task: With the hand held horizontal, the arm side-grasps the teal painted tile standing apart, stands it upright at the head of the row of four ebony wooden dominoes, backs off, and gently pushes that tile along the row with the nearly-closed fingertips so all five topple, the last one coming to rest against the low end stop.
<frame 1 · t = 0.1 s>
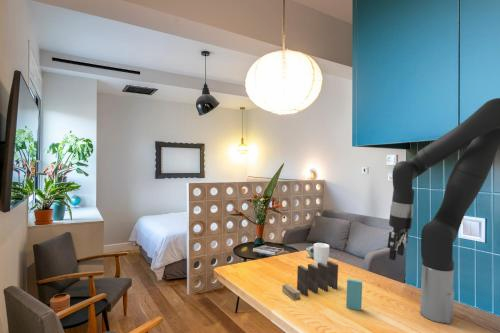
hand: (396, 257, 111), 17 cm above the table, tool pointing down, fingers open, 8 cm apart
domino 3: (312, 290, 120), on the table
white cup: (320, 264, 151), on the table
domino 4: (302, 292, 118), on the table
domino 2: (322, 288, 122), on the table
end stop: (291, 294, 116), on the table
robot head: (312, 258, 160), on the table
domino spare: (353, 308, 107), on the table
domino 1: (331, 286, 125), on the table
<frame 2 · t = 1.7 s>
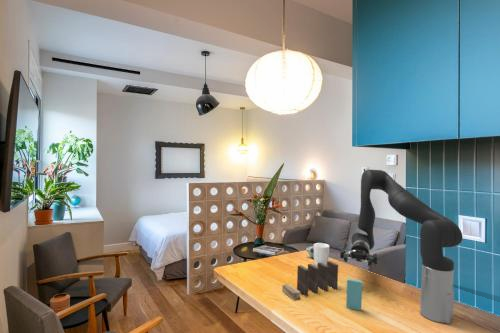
hand: (357, 261, 117), 13 cm above the table, tool horizontal, fingers open, 8 cm apart
nothing on the table moved.
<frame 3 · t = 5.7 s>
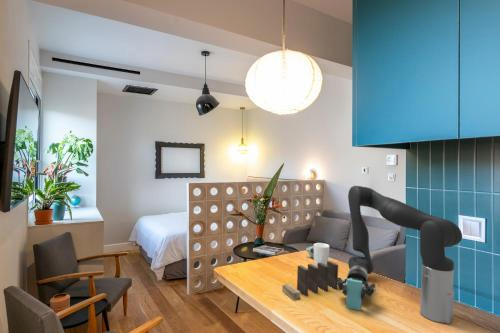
hand: (353, 294, 104), 6 cm above the table, tool horizontal, fingers closed on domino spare, 5 cm apart
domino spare: (353, 308, 107), on the table, touching gripper
everything else where it was.
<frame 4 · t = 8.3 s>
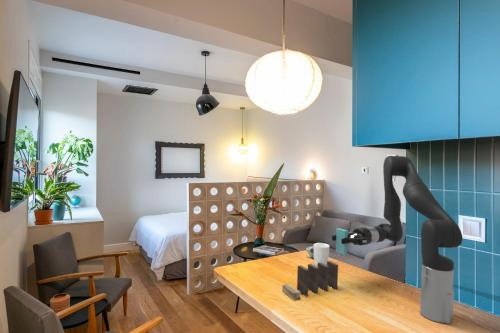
hand: (337, 239, 124), 20 cm above the table, tool horizontal, fingers closed on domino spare, 5 cm apart
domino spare: (341, 253, 125), point 14 cm above the table, touching gripper
everything else where it was.
when the fingers open (6 cm above the table, at t = 11.1 s): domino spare stays where it is, on the table.
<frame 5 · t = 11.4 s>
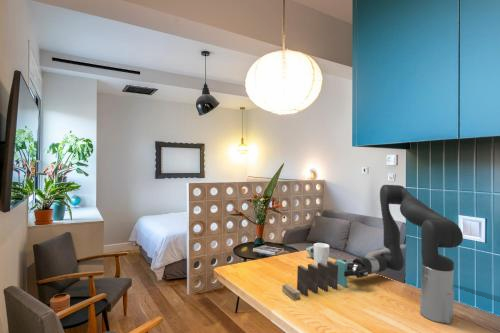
hand: (337, 270, 126), 6 cm above the table, tool horizontal, fingers open, 8 cm apart
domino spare: (340, 284, 127), on the table
everything else where it was.
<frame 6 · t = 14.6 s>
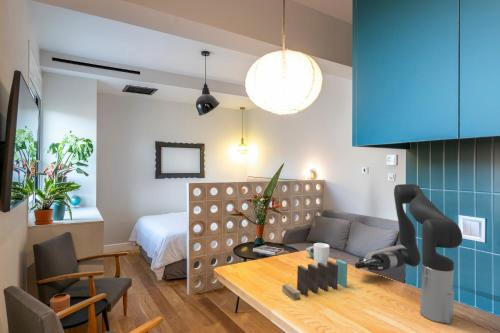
hand: (356, 265, 130), 7 cm above the table, tool horizontal, fingers closed
nothing on the table moved.
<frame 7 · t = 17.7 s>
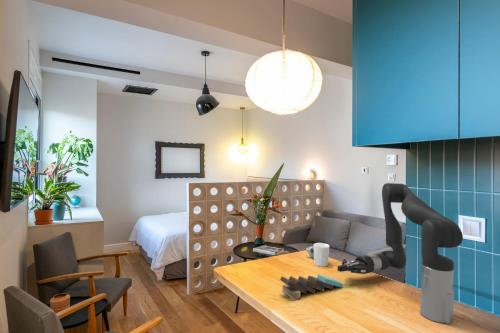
hand: (338, 268, 126), 7 cm above the table, tool horizontal, fingers closed
domino 3: (310, 289, 120), point 1 cm above the table, tilted 60°, touching domino 2, domino 4
domino 4: (302, 289, 118), point 1 cm above the table, tilted 60°, touching domino 3, end stop
domino 2: (320, 287, 122), point 1 cm above the table, tilted 65°, touching domino 1, domino 3
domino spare: (338, 283, 126), point 1 cm above the table, tilted 69°, touching domino 1
domino 1: (329, 285, 124), point 1 cm above the table, tilted 67°, touching domino 2, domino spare
everything else where it was.
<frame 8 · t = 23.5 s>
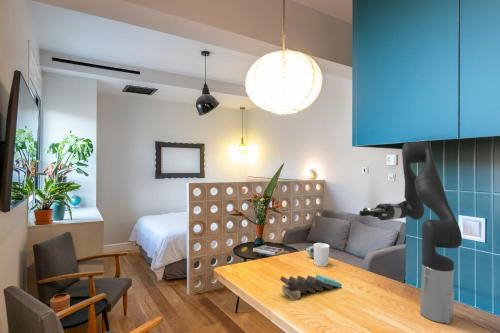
hand: (360, 213, 130), 30 cm above the table, tool horizontal, fingers closed
at the end: domino 4 tilted 60°; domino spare tilted 68°; the gripper is holding nothing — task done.
